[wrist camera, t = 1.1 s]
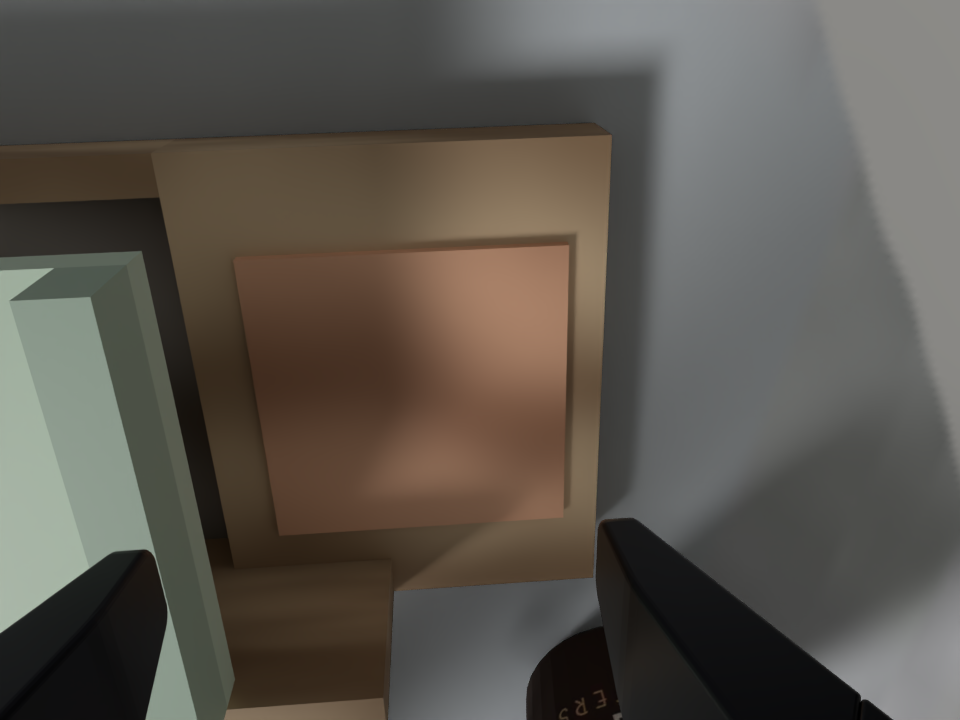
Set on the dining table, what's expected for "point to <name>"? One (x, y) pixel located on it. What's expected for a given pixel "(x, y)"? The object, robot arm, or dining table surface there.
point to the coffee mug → (574, 681)
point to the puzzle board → (357, 367)
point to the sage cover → (101, 460)
